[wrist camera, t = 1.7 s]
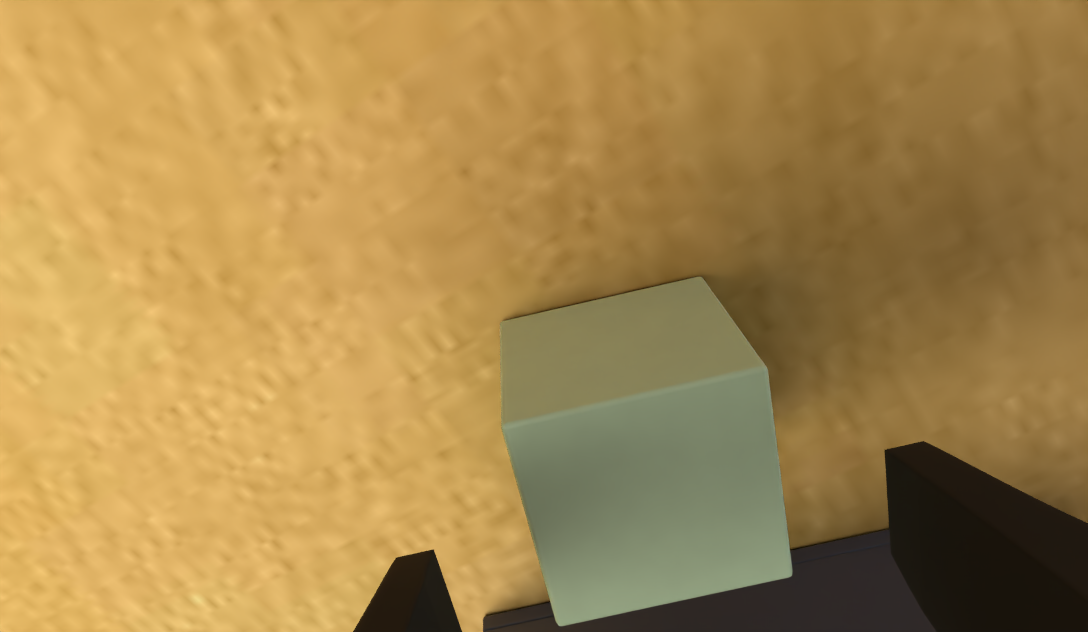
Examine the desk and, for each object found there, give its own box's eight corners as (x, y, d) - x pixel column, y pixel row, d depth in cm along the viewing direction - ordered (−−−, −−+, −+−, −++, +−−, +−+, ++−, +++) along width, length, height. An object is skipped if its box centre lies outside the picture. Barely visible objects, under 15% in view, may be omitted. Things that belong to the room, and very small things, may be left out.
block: (702, 274, 17) (768, 365, 13) (728, 448, 18) (795, 578, 14) (498, 320, 17) (499, 426, 13) (543, 489, 18) (557, 629, 14)
